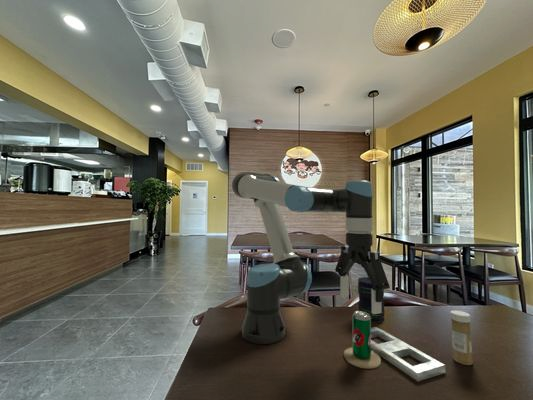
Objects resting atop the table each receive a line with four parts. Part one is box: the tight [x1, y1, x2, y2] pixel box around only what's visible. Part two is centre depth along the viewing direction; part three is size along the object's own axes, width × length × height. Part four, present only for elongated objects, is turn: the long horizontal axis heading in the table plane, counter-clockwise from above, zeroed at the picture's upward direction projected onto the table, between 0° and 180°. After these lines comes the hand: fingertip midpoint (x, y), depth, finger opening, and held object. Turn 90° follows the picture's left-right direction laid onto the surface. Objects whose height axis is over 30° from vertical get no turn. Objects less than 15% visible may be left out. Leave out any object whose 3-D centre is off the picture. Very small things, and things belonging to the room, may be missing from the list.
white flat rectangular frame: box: [371, 326, 446, 382], centre depth 75 cm, size 24×10×2 cm, turn 20°
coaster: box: [343, 346, 382, 370], centre depth 72 cm, size 10×10×1 cm
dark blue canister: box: [357, 276, 385, 324], centre depth 101 cm, size 10×10×15 cm
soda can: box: [351, 310, 372, 360], centre depth 72 cm, size 5×5×12 cm
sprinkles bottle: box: [450, 309, 474, 366], centre depth 71 cm, size 5×5×13 cm
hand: (359, 304), depth 73 cm, fingers open, 13 cm apart
